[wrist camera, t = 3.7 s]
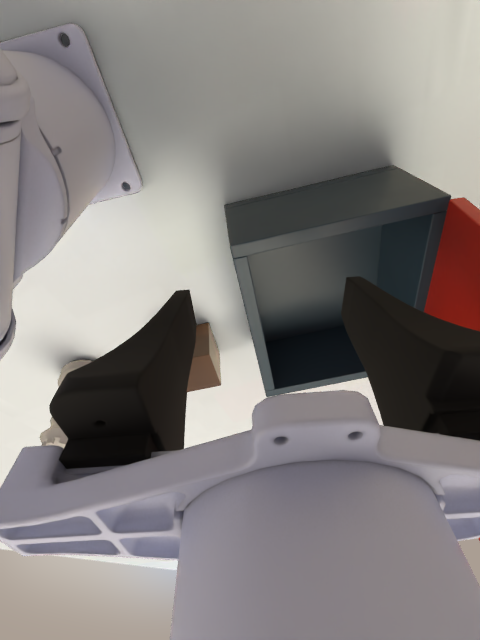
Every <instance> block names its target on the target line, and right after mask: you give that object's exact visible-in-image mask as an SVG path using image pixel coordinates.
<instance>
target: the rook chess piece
mask: <svg viewBox="0 0 480 640" xmlns="http://www.w3.org/2000/svg"><path fill="white" fill-rule="evenodd" d="M90 362H92V361H91V360H82V359H81V360H76V361H73V362H70V363H68V364H67V365H65V366H64V367H63V368H62V370H61V375H60V377H59V379H58V386H60V384H61V382H62V381H63V379H64V377H65V376H66V374H67V373H68V372H71V371H73V370H75V369H78V368H80V367H82V366H84V365H86V364H88V363H90ZM50 422H51V427H50V428H49V429H47V430H45V431H44V432H42V433H41V435H40V440H41V442H42V446H48V445H56V446H60V447H62V448H64V447H65V445H66V443H67V440H68V438H67V436H66V435H65V434H64V432H63V431H62V430H61V428H60V427H59V426H58V424H57V423H56V421H55V420H54V419H53V417H52V418H51V420H50Z"/></svg>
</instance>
